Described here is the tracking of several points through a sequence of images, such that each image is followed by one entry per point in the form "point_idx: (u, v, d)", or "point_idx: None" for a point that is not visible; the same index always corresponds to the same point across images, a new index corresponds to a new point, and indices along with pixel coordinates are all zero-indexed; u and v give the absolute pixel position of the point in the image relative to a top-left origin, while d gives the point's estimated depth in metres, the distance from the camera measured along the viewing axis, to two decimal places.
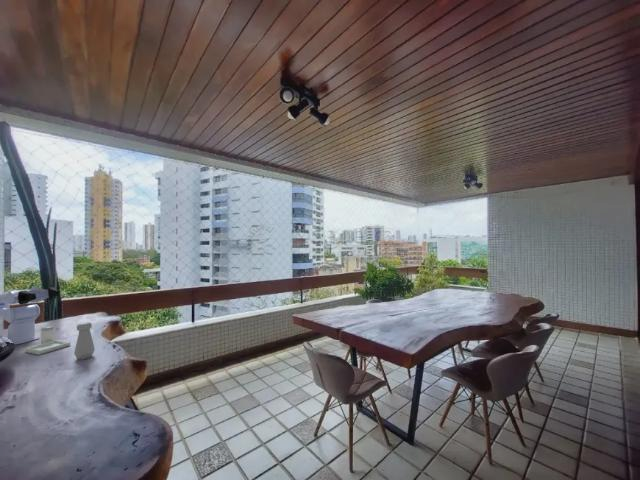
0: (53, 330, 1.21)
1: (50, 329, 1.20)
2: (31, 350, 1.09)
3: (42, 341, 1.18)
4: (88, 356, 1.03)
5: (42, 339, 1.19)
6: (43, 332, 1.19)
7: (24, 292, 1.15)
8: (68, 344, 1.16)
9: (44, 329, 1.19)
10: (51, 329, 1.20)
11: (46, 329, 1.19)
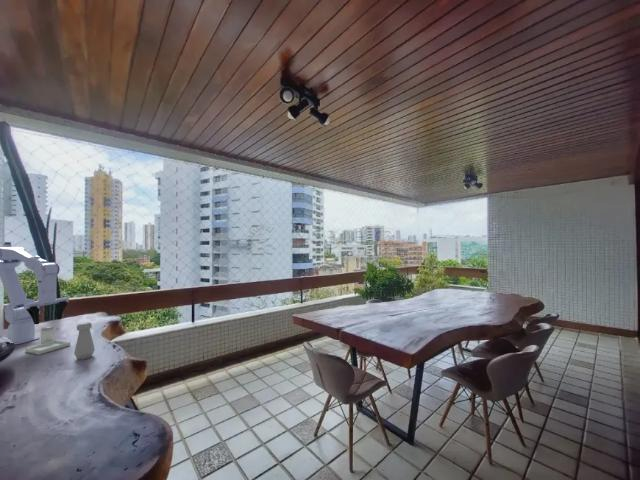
0: (53, 330, 1.21)
1: (50, 329, 1.20)
2: (31, 350, 1.09)
3: (42, 341, 1.18)
4: (88, 356, 1.03)
5: (42, 339, 1.19)
6: (43, 332, 1.19)
7: (35, 312, 1.16)
8: (68, 344, 1.16)
9: (44, 329, 1.19)
10: (51, 329, 1.20)
11: (46, 329, 1.19)
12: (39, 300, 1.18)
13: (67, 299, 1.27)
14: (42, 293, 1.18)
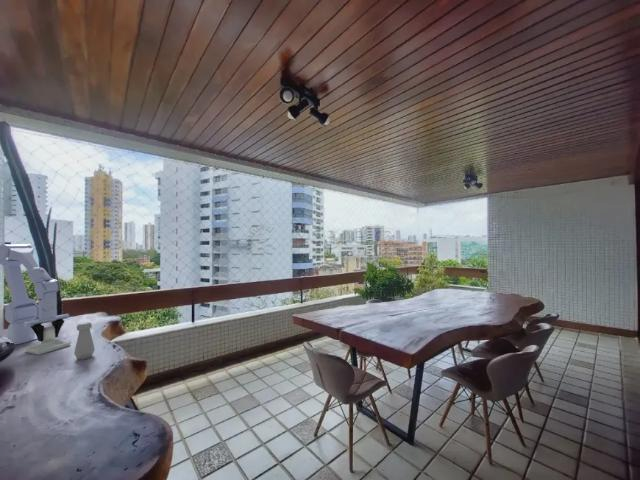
0: (53, 330, 1.21)
1: (50, 329, 1.20)
2: (31, 350, 1.09)
3: (42, 341, 1.18)
4: (88, 356, 1.03)
5: None
6: (43, 332, 1.19)
7: (39, 330, 1.17)
8: (68, 344, 1.16)
9: (44, 329, 1.19)
10: (51, 329, 1.20)
11: (46, 329, 1.19)
12: (39, 318, 1.18)
13: (67, 316, 1.27)
14: (42, 311, 1.18)
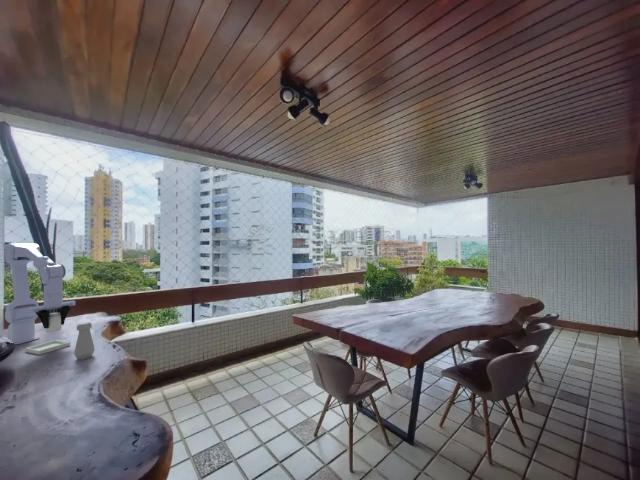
0: (59, 317, 1.16)
1: (56, 316, 1.15)
2: (31, 350, 1.09)
3: (48, 328, 1.13)
4: (88, 356, 1.03)
5: None
6: (49, 319, 1.13)
7: (45, 316, 1.12)
8: (68, 344, 1.16)
9: (50, 315, 1.14)
10: (57, 316, 1.15)
11: (52, 316, 1.14)
12: (44, 304, 1.13)
13: (74, 303, 1.22)
14: (48, 297, 1.13)
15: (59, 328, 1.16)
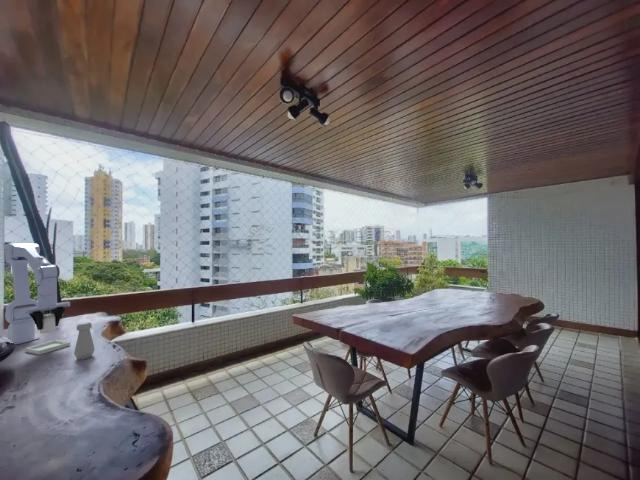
0: (53, 318, 1.14)
1: (50, 317, 1.13)
2: (31, 350, 1.09)
3: None
4: (88, 356, 1.03)
5: None
6: None
7: (39, 317, 1.10)
8: (68, 344, 1.16)
9: (44, 317, 1.12)
10: (51, 317, 1.13)
11: (46, 317, 1.12)
12: (38, 305, 1.11)
13: (68, 304, 1.20)
14: (42, 298, 1.11)
15: (53, 329, 1.14)
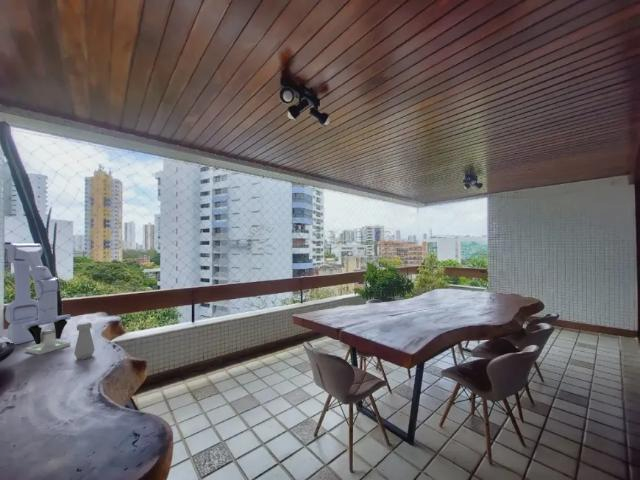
0: (53, 334, 1.14)
1: (50, 333, 1.13)
2: (31, 350, 1.09)
3: (42, 346, 1.12)
4: (88, 356, 1.03)
5: (42, 343, 1.12)
6: (43, 336, 1.12)
7: (37, 332, 1.09)
8: (68, 344, 1.16)
9: (44, 333, 1.12)
10: (51, 333, 1.13)
11: (46, 333, 1.12)
12: (38, 319, 1.11)
13: (68, 316, 1.20)
14: (42, 311, 1.11)
15: (53, 345, 1.14)
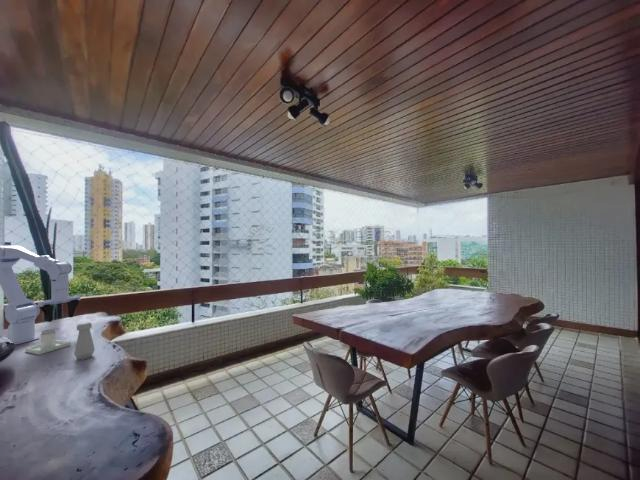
0: (54, 334, 1.14)
1: (50, 333, 1.13)
2: (31, 350, 1.09)
3: (42, 346, 1.12)
4: (88, 356, 1.03)
5: (42, 343, 1.12)
6: (43, 336, 1.12)
7: (49, 310, 1.19)
8: (68, 344, 1.16)
9: (44, 333, 1.12)
10: (51, 333, 1.13)
11: (46, 333, 1.12)
12: (52, 299, 1.22)
13: (79, 297, 1.30)
14: (55, 292, 1.22)
15: (53, 345, 1.14)
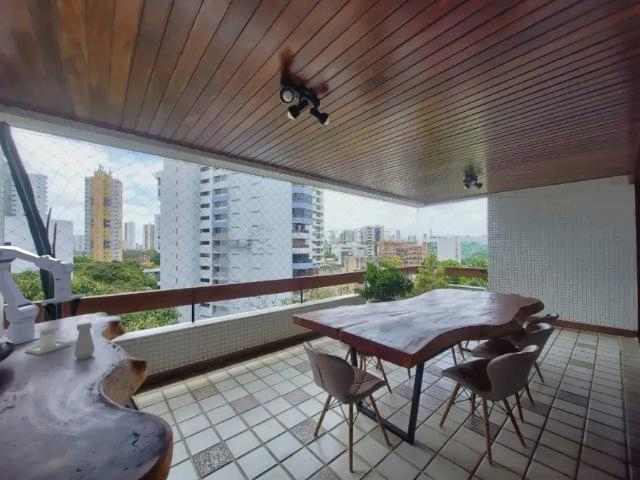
0: (53, 334, 1.14)
1: (49, 333, 1.13)
2: (31, 350, 1.09)
3: (41, 346, 1.11)
4: (88, 356, 1.03)
5: (41, 344, 1.12)
6: (42, 336, 1.11)
7: (52, 309, 1.21)
8: (68, 344, 1.16)
9: (43, 333, 1.12)
10: (51, 333, 1.13)
11: (45, 333, 1.12)
12: (55, 297, 1.24)
13: (81, 296, 1.33)
14: (58, 290, 1.24)
15: (53, 345, 1.14)
